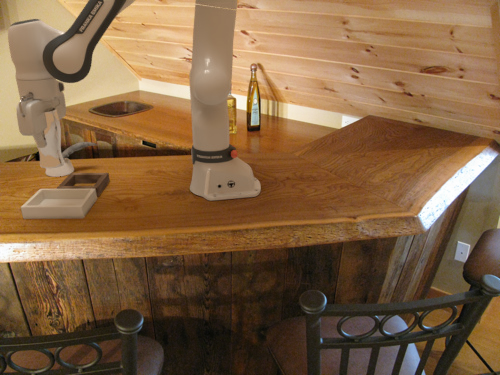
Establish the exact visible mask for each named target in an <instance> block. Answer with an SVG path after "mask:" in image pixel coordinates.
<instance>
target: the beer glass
mask: <svg viewBox="0 0 500 375" xmlns="http://www.w3.org/2000/svg"><path fill="white" fill-rule="evenodd" d="M53 108H54V107H53ZM44 113H45V116H46V121H47V128H46V129H45V130H43V137H44V140H46V143H47V146H46V147H44V148H39V147H38V146H37V141H36V140H35V139H34V138H33V139H34V143H35V145H36V148H37V150H38V155H39V166H40V167H41V168H42V169H46V168H57V167H60V166H63V165H64V164H65V162H64V159H63V157H62V148H61V147H62V144H61V143H62V128H61V122H60V120H59V117H58V113H57V109H56V108H54V110H53V111H49V112H44Z"/></svg>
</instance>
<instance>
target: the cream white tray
mask: <svg viewBox="0 0 500 375" xmlns="http://www.w3.org/2000/svg"><path fill="white" fill-rule="evenodd" d="M97 200H98V197H97V195H96V189H95V188H85V189H56V188H39V190H37V191H36V192H35V193H34V194H33V195H32V196H31V197H30V198H29V199H27V201H26V202H25V203H23V205H21V206H20V211H21V213H22V214H21V215H22V217H23V218H22V219H23V220H30V219H31V220H35V219H36V220H38V219H39V220H41V219H42V220H43V219H44V220H47V219H48V220H49V219H51V220H52V219H53V220H56V219H57V220H58V219H60V220H61V219H62V220H63V219H69V220H70V219H85V217H86V216H87V214H88V213H89V212H90V210H91V209H92V207H93V206H94V204H95V203H96V202H97Z"/></svg>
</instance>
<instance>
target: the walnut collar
mask: <svg viewBox="0 0 500 375" xmlns="http://www.w3.org/2000/svg"><path fill="white" fill-rule="evenodd" d="M109 183H110V174H109V172H73V173H71V174H69V175H67V177H66V178H64V180H63V181H62V182H61V183H60V184H59V185H58V186H57V187H56V188H55V189H85V188H95V189H96V195H97V198H99V197H100V196H101V194H102V193H103V191H105V189H106V187H107V186H108V184H109ZM76 184H94V185H76Z"/></svg>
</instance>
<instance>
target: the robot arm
mask: <svg viewBox="0 0 500 375" xmlns="http://www.w3.org/2000/svg"><path fill="white" fill-rule="evenodd" d="M134 2H136V0H88V1H87V3H86V4H85V5H84V7H83V9H82V10H81V12H80V13H79V14H78V16H77V17H76V19H75V20H74V21H73V23H72V25H70V27H69V28H68V30H66V31H63V30H61V29H58V28H56V27H54V26H51V25H49V24H48V23H46V22H45V21H43V20H41V19H39V18H32V19H31V18H30V19H26V20H22V21H21V20H20V21H16V22H14V23H12V24H10V26H9V27H8V28H7V40H8V47H9V48H8V49H9V53H10V59H11V62H12V63H13V65H14V68H15V81H16V86H17V90H18V91H17V92H18V94H19V95H18V96H19V102H18V104H17V105H16V118H17V120H16V121H17V126H18V130H19V132H20V134H21V135H22V136H29V137H31V136H32V137H33V139H35V140H36V141H37V145H36V147H37V146H38V147H39V148H44V147H46V146H47V143H46V140H44V137H43V130H45V129H46V128H47V121H46V116H45V113H44V112H49V111H53V110H54V108H56V109H57V113H58V117H59V121H60V120H61V119H63V118H64V117H65V116H66V114H67V106H66V98H65V94H64V91H65V85H64V84H66V83H67V84H74V83H78V82H82V80H84V79H85V78H86V77H87V76H88V75H89V73H90V71H91V68H92V63H93V54H94V51H95V49H96V47H97V45H98V44H99V42H100V41H101V39H102V37H103V36H104V35H105V33H107V32H106V31H108V29H109V27H110V25H111V24H112V23H113V21H114V20H115V19H116V18H117V17H118V15H120V13H122V12H123V11H124V10H126V9H128V7H129V6H131V5H132V4H133V3H134ZM194 5H195V6H194V17H193V29H192V30H193V32H192V51H191V52H192V53H191V68H190V70H189V75H188V79H189V81H188V82H189V93H190V94H189V96H190V112H191V113H190V114H191V129H192V130H191V133H192V145H191V162H192V174H191V176H192V178H191V182H190V184H189V185H190V186H189V190H190V192H192V193H193V194H194V195H197V196H199V197H202V198H204V199H205V200H207V201H210V202H211V201H213V202H214V201H222V200H232V199H244V198H254V197H257V196H259V195H260V193H261V191H262V188H261V182H260V181H259V179H258V178H256V177H255V175H254V173H253V169H252V167H251V166H250V165H249V164H248V163H246V162H245V161H243V160H242V159H240V158H239V157H238V151H237V147H236V146H235V144H230V116H229V106H228V104H229V103H228V97H229V95H230V92H231V89H232V77H233V63H234V62H233V59H234V58H233V57H234V56H233V55H234V37H235V28H236V19H237V18H236V17H237V12H238V11H237V10H238V9H237V8H238V0H195V4H194ZM53 107H54V108H53ZM35 140H34V141H35ZM38 147H37V148H38Z"/></svg>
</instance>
